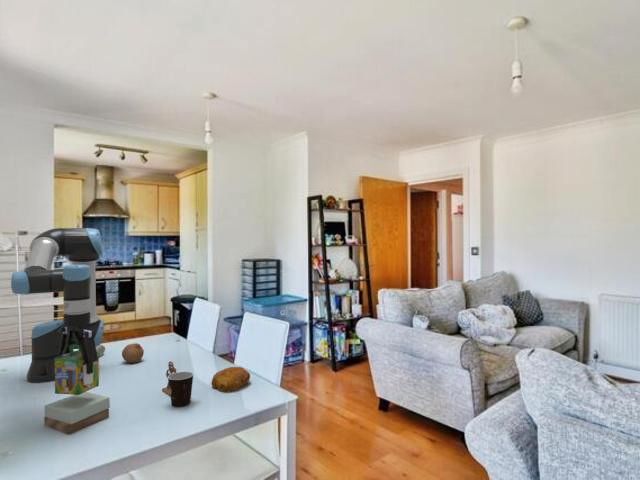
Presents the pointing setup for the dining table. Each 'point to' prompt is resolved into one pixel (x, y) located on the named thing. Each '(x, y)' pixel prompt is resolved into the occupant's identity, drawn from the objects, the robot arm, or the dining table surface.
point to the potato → (230, 379)
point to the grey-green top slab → (77, 407)
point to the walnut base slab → (78, 425)
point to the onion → (132, 353)
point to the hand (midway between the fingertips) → (77, 381)
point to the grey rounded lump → (100, 349)
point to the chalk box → (73, 373)
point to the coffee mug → (180, 388)
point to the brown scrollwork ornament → (167, 390)
